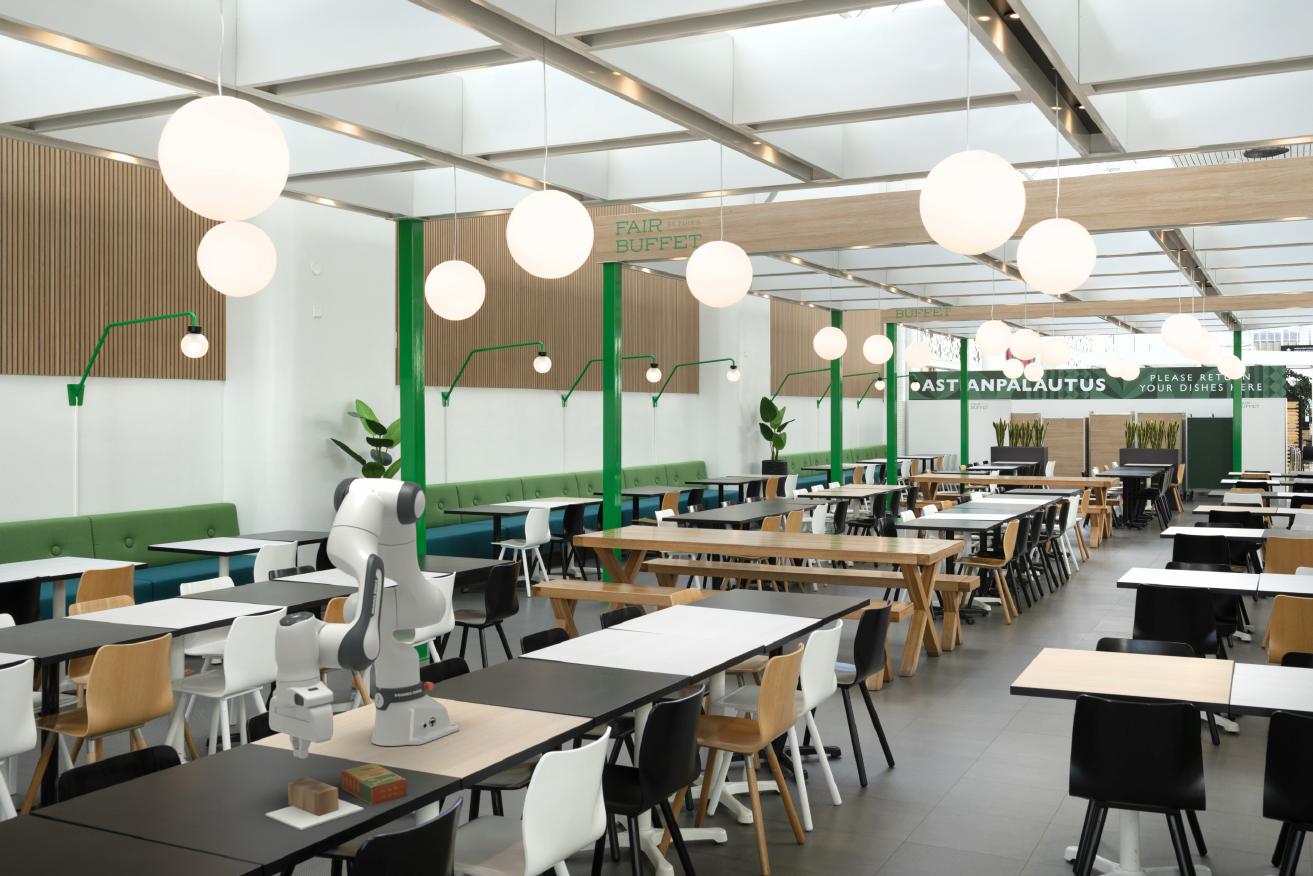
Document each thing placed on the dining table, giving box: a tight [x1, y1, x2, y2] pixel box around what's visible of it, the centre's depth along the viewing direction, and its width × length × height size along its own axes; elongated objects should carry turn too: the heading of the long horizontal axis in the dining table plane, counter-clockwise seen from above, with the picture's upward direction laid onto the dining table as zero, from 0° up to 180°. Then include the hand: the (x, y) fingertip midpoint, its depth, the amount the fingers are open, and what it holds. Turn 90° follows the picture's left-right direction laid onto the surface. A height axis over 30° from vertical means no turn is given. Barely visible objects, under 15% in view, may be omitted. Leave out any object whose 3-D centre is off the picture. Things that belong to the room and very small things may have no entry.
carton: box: [340, 763, 407, 806], centre depth 225 cm, size 8×16×4 cm, turn 40°
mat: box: [265, 798, 365, 831], centre depth 213 cm, size 14×14×1 cm
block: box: [287, 777, 339, 816], centre depth 216 cm, size 4×4×12 cm
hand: (300, 757), depth 218 cm, fingers closed
